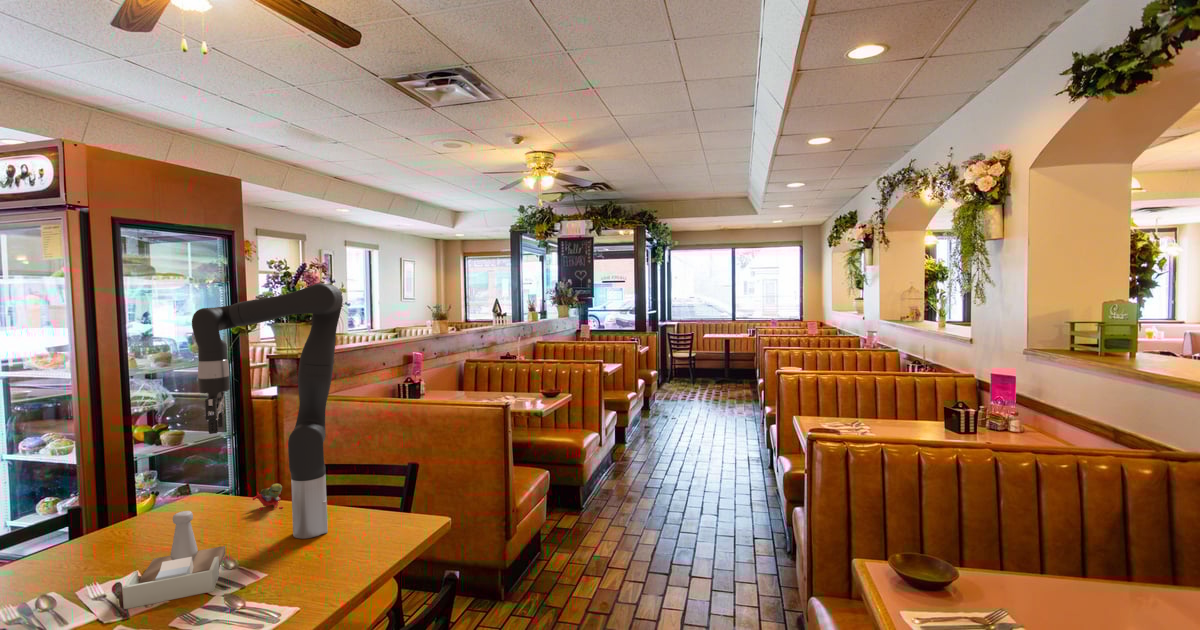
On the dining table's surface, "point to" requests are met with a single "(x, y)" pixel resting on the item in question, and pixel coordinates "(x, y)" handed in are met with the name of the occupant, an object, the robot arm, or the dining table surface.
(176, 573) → the pale grey block
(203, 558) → the board
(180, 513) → the salt shaker
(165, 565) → the beige block
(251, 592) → the dining table surface
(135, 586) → the tray
